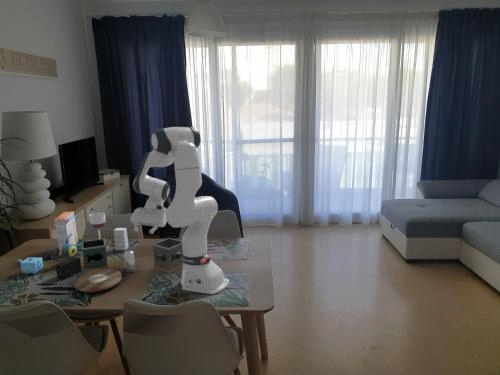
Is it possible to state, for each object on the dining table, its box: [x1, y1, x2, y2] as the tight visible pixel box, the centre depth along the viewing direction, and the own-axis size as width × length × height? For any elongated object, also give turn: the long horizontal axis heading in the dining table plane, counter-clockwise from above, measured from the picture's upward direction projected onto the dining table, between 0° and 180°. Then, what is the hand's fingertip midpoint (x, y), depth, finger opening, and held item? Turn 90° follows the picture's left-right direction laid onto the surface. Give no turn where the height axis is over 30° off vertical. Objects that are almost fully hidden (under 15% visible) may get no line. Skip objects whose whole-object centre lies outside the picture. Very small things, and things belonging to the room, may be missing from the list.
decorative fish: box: [58, 234, 84, 260], centre depth 193 cm, size 13×12×6 cm
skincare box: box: [113, 227, 130, 251], centre depth 209 cm, size 6×4×12 cm
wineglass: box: [88, 211, 109, 248], centre depth 211 cm, size 8×9×20 cm
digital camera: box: [54, 256, 83, 281], centre depth 179 cm, size 10×5×7 cm, turn 155°
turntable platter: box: [73, 268, 123, 293], centre depth 169 cm, size 20×20×2 cm
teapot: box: [17, 256, 44, 275], centre depth 182 cm, size 12×6×8 cm, turn 89°
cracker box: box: [54, 211, 79, 254], centre depth 208 cm, size 14×6×21 cm, turn 6°
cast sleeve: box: [123, 249, 136, 274], centre depth 181 cm, size 4×4×10 cm
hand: (143, 232), depth 190 cm, fingers open, 8 cm apart
